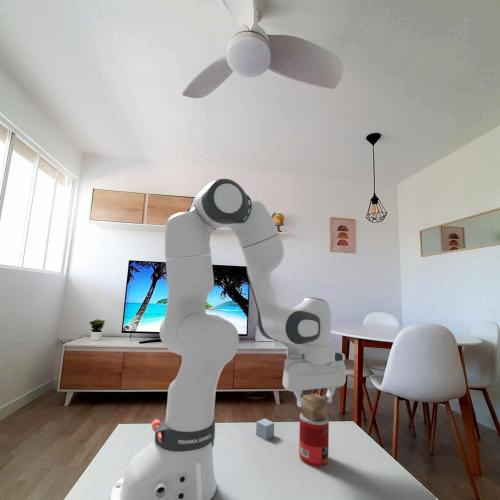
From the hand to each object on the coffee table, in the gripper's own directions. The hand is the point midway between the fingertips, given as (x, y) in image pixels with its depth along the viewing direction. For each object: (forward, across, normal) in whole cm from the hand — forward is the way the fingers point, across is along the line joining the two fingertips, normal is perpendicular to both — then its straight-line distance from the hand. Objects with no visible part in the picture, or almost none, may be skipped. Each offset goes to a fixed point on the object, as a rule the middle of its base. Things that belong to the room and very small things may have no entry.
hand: (314, 404), depth 81 cm
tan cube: (+3, 0, 0) cm, 3 cm away
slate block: (+14, -7, +16) cm, 23 cm away
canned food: (+14, 0, 0) cm, 14 cm away
